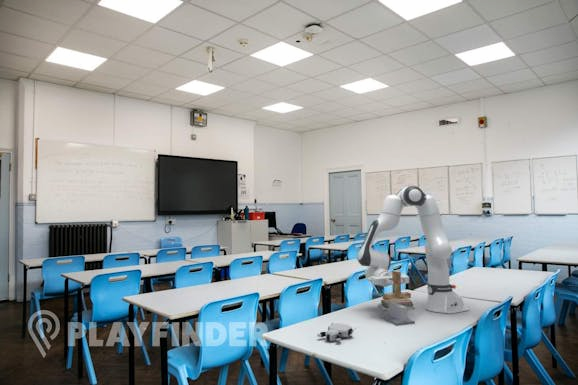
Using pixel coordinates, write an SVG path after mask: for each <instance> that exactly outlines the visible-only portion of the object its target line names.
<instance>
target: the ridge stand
mask: <svg viewBox="0 0 578 385" xmlns="http://www.w3.org/2000/svg"><path fill="white" fill-rule="evenodd" d="M381 318H382V319H383V320H385V321H387V322H389V323H391V324H393V325H394V326H396V327H397V326H404V325H414V324H416V322H415V321H414V320H413V319H411V318H409V317H408V309H407V307H405V306H403V305H401V304H398V303H396V302H389V310H388V314H385V315H384V314H383V315H381Z"/></svg>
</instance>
